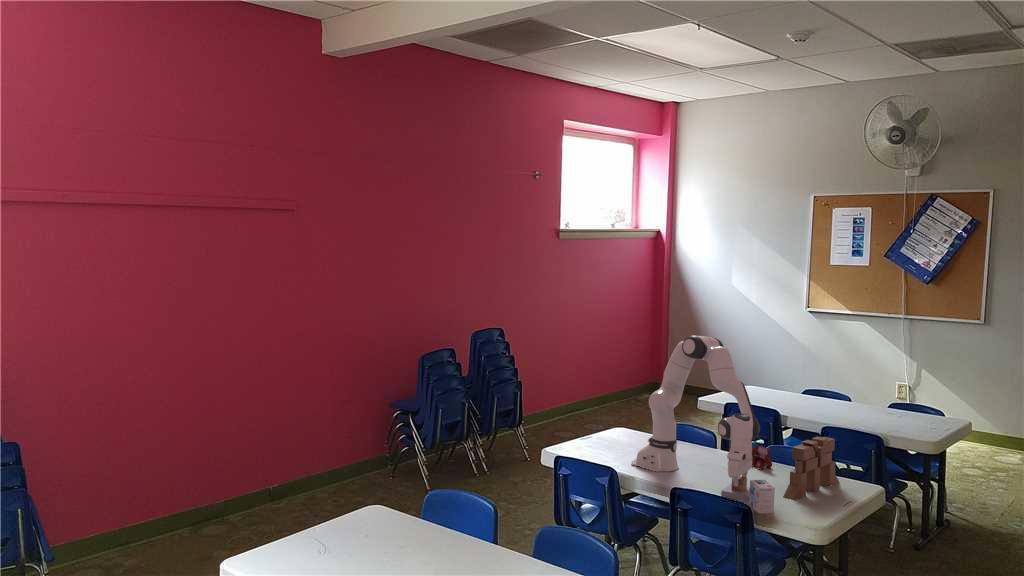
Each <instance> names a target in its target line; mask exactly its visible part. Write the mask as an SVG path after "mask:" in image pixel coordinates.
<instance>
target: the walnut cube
mask: <svg viewBox="0 0 1024 576" xmlns="http://www.w3.org/2000/svg"><path fill="white" fill-rule="evenodd" d="M738 482H739V486H737V487H736V486H734V481H733V478H731V484H732V490H735V491H740V492H744V491H745V490H746V489H747V487H748V486H747V485H748V484H747V483H748V478H747V477H746V478H745V477H742V476H739V479H738Z"/></svg>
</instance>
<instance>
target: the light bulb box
mask: <svg viewBox="0 0 1024 576" xmlns="http://www.w3.org/2000/svg"><path fill="white" fill-rule="evenodd" d="M749 487H750V494H749V502H748V505H749V506H750V507H751V508H752V509H753V511H756V513H757V514H774V513H775V491H776V487H775V486H773V485H772V484H771V483H769V481H767V480H765V479H750V480H749Z"/></svg>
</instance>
